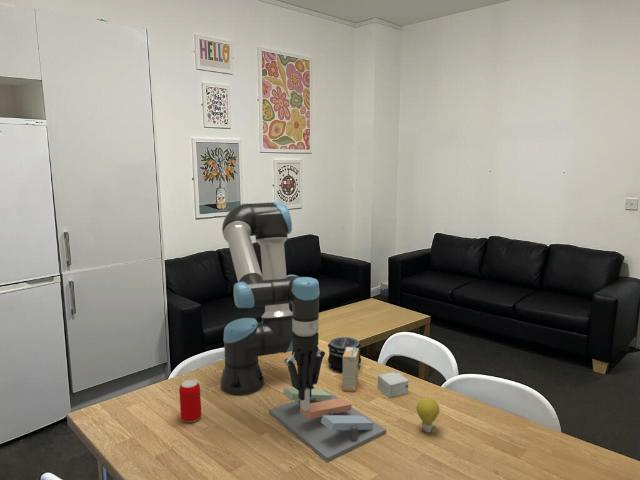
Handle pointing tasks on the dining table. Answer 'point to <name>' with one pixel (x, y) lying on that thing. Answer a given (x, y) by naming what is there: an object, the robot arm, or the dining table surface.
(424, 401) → the light bulb
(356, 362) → the supplement box
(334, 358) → the container
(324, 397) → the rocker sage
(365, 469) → the dining table surface
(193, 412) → the beverage can
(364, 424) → the rocker blue
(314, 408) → the rocker terracotta
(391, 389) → the small box
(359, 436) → the board
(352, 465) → the dining table surface
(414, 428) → the dining table surface
